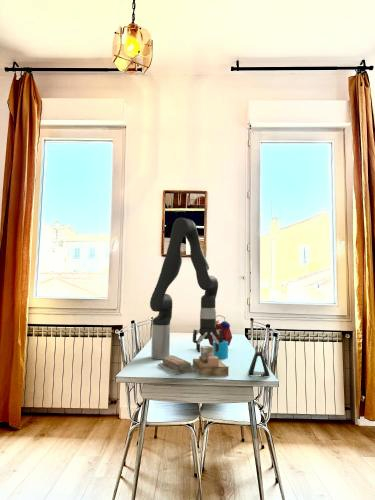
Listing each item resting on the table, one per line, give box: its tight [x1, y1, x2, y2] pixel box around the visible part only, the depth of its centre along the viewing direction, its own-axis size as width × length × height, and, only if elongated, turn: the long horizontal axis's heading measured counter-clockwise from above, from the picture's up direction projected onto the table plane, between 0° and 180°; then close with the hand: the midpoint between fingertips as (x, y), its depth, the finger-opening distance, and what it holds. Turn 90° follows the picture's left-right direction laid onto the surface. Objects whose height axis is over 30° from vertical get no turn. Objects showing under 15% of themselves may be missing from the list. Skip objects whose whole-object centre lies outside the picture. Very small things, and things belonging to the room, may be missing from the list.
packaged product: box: [157, 354, 195, 375], centre depth 156 cm, size 18×5×10 cm
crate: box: [208, 356, 220, 367], centre depth 149 cm, size 4×4×4 cm
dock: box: [192, 358, 229, 377], centre depth 154 cm, size 12×19×4 cm, turn 10°
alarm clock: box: [207, 314, 233, 347], centre depth 203 cm, size 15×9×20 cm, turn 46°
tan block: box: [198, 345, 214, 363], centre depth 159 cm, size 6×8×6 cm
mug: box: [212, 341, 229, 360], centre depth 183 cm, size 12×8×8 cm
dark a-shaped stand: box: [248, 345, 271, 378], centre depth 149 cm, size 9×6×12 cm, turn 80°
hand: (207, 351), depth 159 cm, fingers open, 8 cm apart
